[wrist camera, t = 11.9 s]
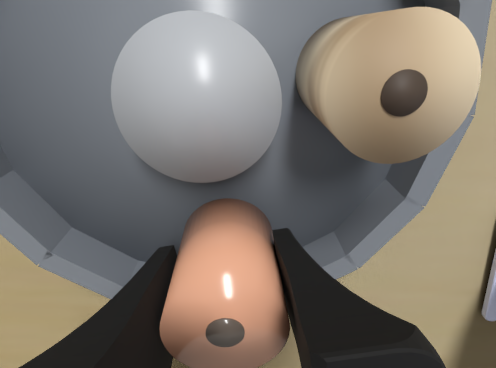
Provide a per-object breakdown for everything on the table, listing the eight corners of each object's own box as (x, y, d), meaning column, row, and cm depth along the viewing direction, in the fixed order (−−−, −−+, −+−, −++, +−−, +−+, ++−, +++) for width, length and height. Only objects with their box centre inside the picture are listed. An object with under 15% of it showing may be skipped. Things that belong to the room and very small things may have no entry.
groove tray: (475, -321, 9) (559, -445, 7) (420, 247, 18) (449, 280, 15) (-187, -183, 10) (-322, -253, 7) (70, 298, 18) (45, 337, 16)
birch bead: (396, 7, 12) (495, -9, 7) (392, 112, 14) (471, 152, 9) (290, 27, 12) (323, 22, 8) (300, 128, 14) (332, 175, 9)
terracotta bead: (267, 192, 13) (283, 275, 9) (277, 265, 15) (295, 367, 11) (173, 205, 14) (142, 294, 9) (194, 277, 15) (176, 382, 11)
